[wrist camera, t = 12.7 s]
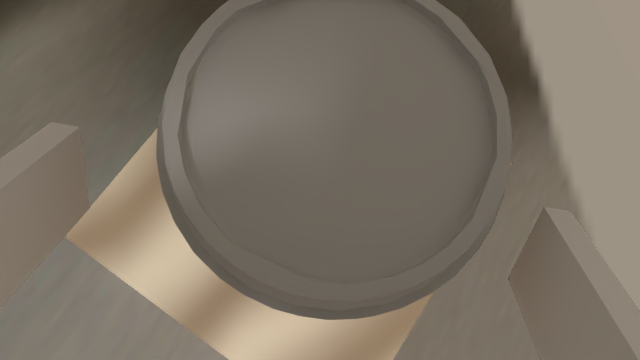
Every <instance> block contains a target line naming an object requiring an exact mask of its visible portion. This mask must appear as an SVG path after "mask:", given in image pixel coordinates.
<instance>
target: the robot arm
mask: <svg viewBox="0 0 640 360" xmlns="http://www.w3.org/2000/svg"><path fill="white" fill-rule="evenodd" d="M89 208H90V204H89V197H88V189H87V181H86V174H85V166H84V158H83V151H82V143H81V135H80V128H79V127H77V126H71V125H65V124H59V123H54V122H51V123H50V124H48V125H47V126H46V127H44V128H43V129H41V130H40V131H38V132H37V133H36V134H34V135H33V136H31V137H30V138H29V139H27V140H26V141H24V142H23V143H21V144H20V145H19V146H17V147H16V148H14V149H13V150H12V151H10V152H9V153H7V154H6V155H4V156H3V157H2V158H0V309H1V308H2V306H3V305H4V304H5V303H6V302H7V301H8V300H9V299H10V297H11V296H12V295H13V294H14V293H15V292H16V291H17V290H18V288H19V287H20V286H21V285H22V284H23V283H24V282H25V281H26V279H27V278H28V277H29V276H30V275H31V274H32V273H33V272H34V270H35V269H36V268H37V267H38V266H39V265H40V264H41V263H42V261H43V260H44V259H45V258H46V257H47V256H48V255H49V254H50V252H51V251H52V250H53V249H54V248H55V247H56V246H57V245H58V243H59V242H60V241H61V240H62V239H63V238H64V237H65V236H66V234H67V233H68V232H69V231H70V230H71V229H72V228H73V227H74V225H75V224H76V223H77V222H78V221H79V220H80V219H81V218H82V216H83V215H84V214H85V213H86V212H87V211H88V210H89ZM508 280H509V282H510V285H511V287H512V290H513V292H514V294H515V297H516V299H517V302H518V304H519V307H520V309H521V312H522V314H523V317H524V319H525V322H526V324H527V327H528V329H529V332H530V334H531V337H532V339H533V342H534V344H535V347H536V349H537V352H538V354H539V357H540V359H541V360H640V310H639V309H638V308H637V306H636V305H635V303H634V302H633V300H632V299H631V297H630V296H629V295H628V293H627V292H626V290H625V289H624V287H623V286H622V284H621V283H620V282H619V280H618V279H617V277H616V276H615V274H614V273H613V272H612V270H611V269H610V267H609V266H608V264H607V263H606V262H605V260H604V259H603V257H602V256H601V254H600V253H599V251H598V250H597V249H596V247H595V246H594V244H593V243H592V241H591V240H590V239H589V237H588V236H587V234H586V233H585V231H584V230H583V228H582V227H581V226H580V224H579V223H578V221H577V220H576V218H575V217H574V216H573V214H572V213H571V211H566V210H560V209H554V208H548V207H544V208H543V210H542V212H541V214H540V216H539V218H538V220H537V222H536V224H535V226H534V228H533V230H532V232H531V234H530V236H529V238H528V240H527V242H526V244H525V246H524V248H523V250H522V252H521V254H520V256H519V258H518V260H517V262H516V264H515V265H514V267H513V269H512V271H511V273H510V275H509V277H508Z"/></svg>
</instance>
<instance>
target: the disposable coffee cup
mask: <svg viewBox="0 0 640 360" xmlns="http://www.w3.org/2000/svg"><path fill="white" fill-rule="evenodd" d="M512 140H513V133H512V127H511V120H510V113H509V107H508V100H507V95H506V93H505V90H504V88H503V85H502V83H501V81H500V78H499V76H498V74H497V71H496V69H495V67H494V64H493V62H492V60H491V57H490V55H489V54H488V53H487V51H486V50H485V49H484V47H483V46H482V45H481V44H480V42H479V41H478V40H477V39H476V37H475V36H474V35H473V34H472V32H471V31H470V30H469V29H468V27H467V26H466V25H465V24H464V22H463V21H462V20H461V19H460V18H459V17H458V16H457V15H455V14H454V13H452V12H451V11H450V10H448V9H447V8H446V7H444V6H443V5H442V4H440V3H439V2H438V1H436V0H229V1H227V2H226V3H224V4H223V5H222V6H220V7H219V8H218V9H217V10H216V11H215V12H214V13H213V14H212V15H211V16H210V17H209V18H208V19H207V20H206V21H205V22H204V23H203V24H202V25H201V26H200V27H199V29H198V30H197V32H196V33H195V34H194V36H193V37H192V38H191V40H190V41H189V43H188V44H187V45H186V47H185V48H184V50H183V51H182V52H181V54H180V57H179V59H178V62H177V64H176V67H175V70H174V72H173V75H172V78H171V80H170V82H169V84H168V86H167V89H166V93H165V96H164V100H163V103H162V107H161V110H160V114H159V117H158V125H157V149H156V160H157V166H158V171H159V177H160V183H161V188H162V193H163V195H164V198H165V200H166V203H167V205H168V208H169V210H170V213H171V215H172V218H173V220H174V222H175V224H176V226H177V227H178V229H179V230H180V232H181V233H182V235H183V237H184V238H185V240H186V241H187V243H188V244H189V246H190V248H191V249H192V251H193V252H194V253H195V254H196V255H197V256H198V257H199V258H200V259H201V260H202V261H203V262H204V263H205V264H206V265H207V266H208V267H209V268H210V269H211V270H212V271H213V272H214V273H215V274H216V275H217V276H218V277H219V278H220V279H221V280H223V281H224V282H226V283H227V284H229V285H230V286H231V287H233V288H234V289H236V290H237V291H239V292H240V293H241V294H243V295H245V296H247V297H249V298H251V299H253V300H255V301H258V302H260V303H262V304H264V305H266V306H268V307H270V308H272V309H275V310H279V311H283V312H286V313H290V314H293V315H297V316H302V317H309V318H317V319H324V320H344V319H360V318H366V317H372V316H377V315H380V314H384V313H387V312H391V311H394V310H398V309H401V308H403V307H405V306H407V305H409V304H411V303H413V302H415V301H417V300H419V299H421V298H423V297H425V296H427V295H429V294H431V293H432V292H434V291H435V290H436V289H438V288H439V287H441V286H442V285H443V284H445V283H446V282H447V281H449V280H450V279H451V278H453V277H454V276H455V275H456V274H457V273H458V272H459V271H460V270H461V268H462V267H463V266H464V265H465V264H466V263H467V262H468V261H469V259H470V258H471V257H472V256H473V255H474V254H475V253H476V252H477V250H478V249H479V248H480V246H481V245H482V243H483V241H484V239H485V238H486V236H487V234H488V233H489V231H490V229H491V227H492V226H493V224H494V221H495V218H496V216H497V213H498V210H499V208H500V205H501V202H502V200H503V197H504V191H505V185H506V181H507V177H508V174H509V170H510V162H511V151H512Z"/></svg>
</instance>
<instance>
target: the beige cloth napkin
mask: <svg viewBox="0 0 640 360" xmlns="http://www.w3.org/2000/svg"><path fill="white" fill-rule="evenodd" d="M156 149H157V129H156V130H155V131H154V132H153V134H152V135H151V136H150V137H149V138H148V139H147V141H146V142H145V143H144V144H143V145H142V147H141V148H140V149H139V150H138V151H137V152H136V154H135V155H134V156H133V157H132V158H131V160H130V161H129V162H128V163H127V164H126V165H125V167H124V168H123V169H122V170H121V171H120V173H119V174H118V175H117V176H116V177H115V178H114V180H113V181H112V182H111V183H110V184H109V186H108V187H107V188H106V189H105V190H104V192H103V193H102V194H101V195H100V196H99V197H98V199H97V200H96V201H95V202H94V203H93V205H92V206H91V207H90V208H89V210H88V211H87V212H86V213H85V214H84V215H83V216H82V218H81V219H80V220H79V221H78V222H77V223H76V225H75V226H74V227H73V228H72V229H71V231H70V232H69V233H68V234H67V235H66V236H65V237H66V238H67V239H68V240H70V241H71V242H72V243H74V244H75V245H76V246H78V247H79V248H80V249H82V250H83V251H85V252H86V253H87V254H89V255H90V256H91V257H93V258H94V259H95V260H97V261H98V262H99V263H101V264H102V265H103V266H105V267H106V268H107V269H109V270H110V271H111V272H113V273H114V274H115V275H117V276H118V277H119V278H121V279H122V280H123V281H125V282H126V283H127V284H129V285H130V286H131V287H133V288H134V289H135V290H137V291H138V292H139V293H141V294H142V295H143V296H145V297H146V298H147V299H149V300H150V301H151V302H153V303H154V304H155V305H157V306H158V307H159V308H161V309H162V310H163V311H165V312H166V313H167V314H169V315H170V316H171V317H173V318H174V319H175V320H177V321H178V322H179V323H181V324H182V325H183V326H185V327H186V328H187V329H189V330H190V331H191V332H193V333H194V334H195V335H197V336H198V337H199V338H201V339H202V340H203V341H205V342H206V343H207V344H209V345H210V346H211V347H213V348H214V349H215V350H217V351H218V352H219V353H221V354H222V355H223V356H225V357H226V358H227V359H229V360H393V359H394V357H395V355H396V354H397V352H398V350H399V349H400V347H401V346H402V344H403V342H404V341H405V339H406V337H407V336H408V334H409V332H410V331H411V329H412V328H413V326H414V324H415V323H416V321H417V319H418V318H419V316H420V314H421V313H422V311H423V310H424V308H425V306H426V305H427V303H428V301H429V300H430V298H431V296H432V295H433V293H434V292H432V293H431V294H429V295H427V296H425V297H423V298H421V299H419V300H417V301H415V302H413V303H411V304H409V305H407V306H405V307H403V308H401V309H398V310H394V311H391V312H387V313H384V314H380V315H377V316H372V317H366V318H360V319H344V320H324V319H317V318H309V317H302V316H297V315H293V314H290V313H286V312H283V311H279V310H275V309H272V308H270V307H268V306H266V305H264V304H262V303H260V302H258V301H255V300H253V299H251V298H249V297H247V296H245V295H243V294H241V293H240V292H239V291H237V290H236V289H234V288H233V287H231V286H230V285H229V284H227V283H226V282H224V281H223V280H221V279H220V278H219V277H218V276H217V275H216V274H215V273H214V272H213V271H212V270H211V269H210V268H209V267H208V266H207V265H206V264H205V263H204V262H203V261H202V260H201V259H200V258H199V257H198V256H197V255H196V254H195V253H194V252H193V251H192V249H191V248H190V246H189V244H188V243H187V241H186V240H185V238H184V237H183V235H182V233H181V232H180V230H179V229H178V227H177V226H176V224H175V222H174V220H173V218H172V215H171V213H170V210H169V208H168V205H167V203H166V200H165V198H164V195H163V193H162V188H161V183H160V177H159V171H158V166H157V160H156ZM512 164H513V163H512V162H510V167H511V165H512Z"/></svg>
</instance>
